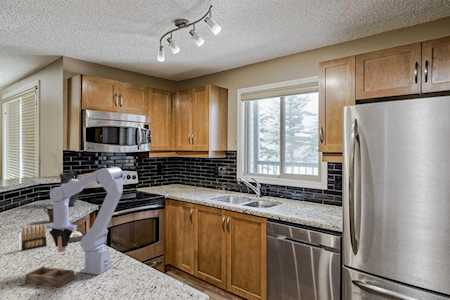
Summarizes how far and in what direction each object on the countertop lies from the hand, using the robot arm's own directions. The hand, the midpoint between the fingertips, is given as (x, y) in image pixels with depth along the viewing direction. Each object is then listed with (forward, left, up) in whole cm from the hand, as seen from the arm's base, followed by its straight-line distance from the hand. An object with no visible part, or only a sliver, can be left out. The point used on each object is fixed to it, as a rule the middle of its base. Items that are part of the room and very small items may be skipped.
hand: (61, 246), depth 128 cm
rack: (-6, +12, -9) cm, 16 cm away
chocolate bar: (+24, -36, -10) cm, 44 cm away
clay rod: (0, 0, -2) cm, 2 cm away
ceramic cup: (+66, -61, -9) cm, 90 cm away
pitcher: (+95, -108, -9) cm, 144 cm away
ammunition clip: (+32, -16, -9) cm, 37 cm away
